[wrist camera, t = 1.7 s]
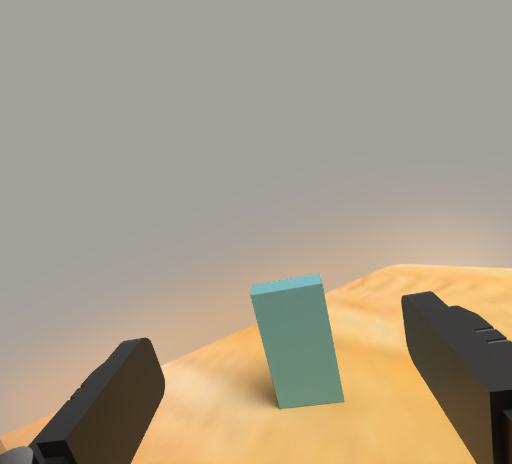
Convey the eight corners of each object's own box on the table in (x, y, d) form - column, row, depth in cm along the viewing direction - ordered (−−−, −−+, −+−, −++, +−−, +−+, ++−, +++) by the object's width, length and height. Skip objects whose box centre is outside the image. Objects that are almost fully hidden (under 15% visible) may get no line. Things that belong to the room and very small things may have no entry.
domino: (344, 401, 22) (322, 283, 20) (279, 408, 23) (250, 295, 20) (340, 385, 24) (319, 273, 21) (279, 392, 24) (252, 285, 22)
